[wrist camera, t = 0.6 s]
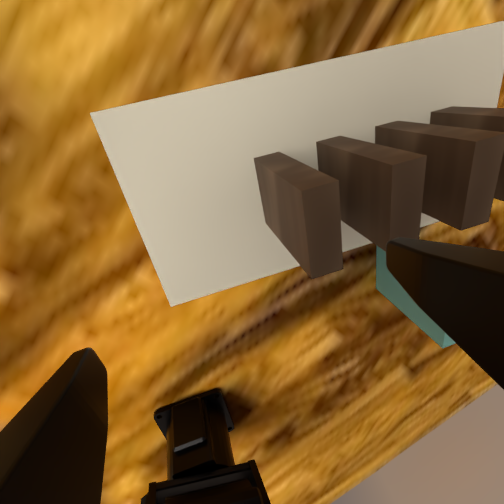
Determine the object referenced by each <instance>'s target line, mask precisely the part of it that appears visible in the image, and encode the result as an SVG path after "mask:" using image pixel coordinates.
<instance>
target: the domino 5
mask: <svg viewBox="0 0 504 504" xmlns="http://www.w3.org/2000/svg"><path fill="white" fill-rule="evenodd" d="M430 124H434V125H443V126H452V127H461V128H470V129H479V130H488V131H497V132H504V108H481V107H457V106H451V107H448V108H444V109H440V110H436V111H432V112H431V115H430ZM494 198H496V199H499V200H502V201H504V152H503V156H502V161H501V166H500V170H499V175H498V180H497V184H496V189H495V193H494Z"/></svg>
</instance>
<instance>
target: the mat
mask: <svg viewBox="0 0 504 504" xmlns="http://www.w3.org/2000/svg"><path fill="white" fill-rule="evenodd" d="M503 72H504V21H500V22H496V23H491V24H487V25H482V26H478V27H473V28H469V29H465V30H460V31H456V32H451V33H447V34H442V35H438V36H433V37H429V38H424V39H420V40H415V41H411V42H406V43H402V44H397V45H393V46H388V47H384V48H379V49H375V50H370V51H366V52H361V53H357V54H352V55H348V56H343V57H339V58H335V59H330V60H326V61H321V62H317V63H312V64H308V65H303V66H299V67H294V68H290V69H285V70H281V71H276V72H272V73H267V74H263V75H258V76H254V77H249V78H245V79H240V80H236V81H231V82H227V83H222V84H218V85H213V86H209V87H205V88H200V89H196V90H191V91H187V92H182V93H178V94H173V95H169V96H164V97H160V98H155V99H151V100H146V101H142V102H137V103H133V104H128V105H124V106H119V107H115V108H110V109H106V110H101V111H97V112H92V113H90V115H91V117H92V120H93V122H94V124H95V127H96V129H97V131H98V134H99V136H100V139H101V141H102V143H103V146H104V148H105V151H106V153H107V155H108V158H109V160H110V162H111V165H112V167H113V170H114V172H115V174H116V177H117V179H118V182H119V184H120V186H121V189H122V191H123V193H124V196H125V198H126V201H127V203H128V205H129V208H130V210H131V213H132V215H133V217H134V220H135V222H136V224H137V227H138V229H139V232H140V234H141V236H142V239H143V241H144V244H145V246H146V248H147V251H148V253H149V255H150V258H151V260H152V263H153V265H154V267H155V270H156V272H157V275H158V277H159V279H160V282H161V284H162V286H163V289H164V291H165V294H166V296H167V298H168V301H169V303H170V306H171V307H172V306H175V305H178V304H181V303H185V302H188V301H191V300H194V299H197V298H200V297H203V296H207V295H210V294H213V293H216V292H219V291H222V290H225V289H229V288H232V287H235V286H238V285H241V284H244V283H247V282H251V281H254V280H257V279H260V278H263V277H266V276H269V275H273V274H276V273H279V272H282V271H285V270H288V269H291V268H295V267H298V266H300V265H299V263H298V262H297V261H296V260H295V259H294V257H293V256H292V255H291V254H290V252H289V251H288V250H287V249H286V247H285V246H284V245H283V244H282V243H281V241H280V240H279V239H278V238H277V236H276V235H275V234H274V233H273V232H272V230H271V229H270V228H269V227H268V225H267V224H266V223H265V217H264V212H263V206H262V201H261V196H260V190H259V185H258V180H257V174H256V169H255V163H254V158H256V157H260V156H264V155H268V154H271V153H275V152H281V153H283V154H285V155H287V156H289V157H291V158H293V159H296V160H298V161H300V162H302V163H304V164H306V165H308V166H310V167H312V168H314V169H316V170H318V159H317V147H316V142H317V141H321V140H325V139H329V138H333V137H337V136H344V137H348V138H353V139H357V140H361V141H366V142H370V143H374V144H375V126H379V125H382V124H386V123H390V122H394V121H407V122H416V123H425V124H430V115H431V112H432V111H436V110H440V109H444V108H448V107H451V106H457V107H481V108H497V104H498V99H499V93H500V88H501V83H502V78H503ZM436 222H439V220H437V219H435V218H432V217H430V216H428V215H426V214H424V213H421V223H420V227H424V226H427V225H430V224H433V223H436ZM341 234H342V252H345V251H348V250H351V249H354V248H357V247H361V246H364V245H367V244H370V243H373V242H371V241H370V240H368V239H367V238H365V237H364V236H363V235H361V234H360V233H358V232H357V231H355V230H354V229H353V228H351V227H350V226H348V225H347V224H345V223H344V222H343V221H341Z"/></svg>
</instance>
